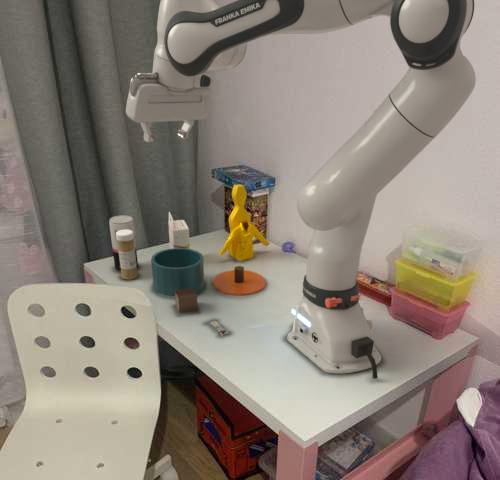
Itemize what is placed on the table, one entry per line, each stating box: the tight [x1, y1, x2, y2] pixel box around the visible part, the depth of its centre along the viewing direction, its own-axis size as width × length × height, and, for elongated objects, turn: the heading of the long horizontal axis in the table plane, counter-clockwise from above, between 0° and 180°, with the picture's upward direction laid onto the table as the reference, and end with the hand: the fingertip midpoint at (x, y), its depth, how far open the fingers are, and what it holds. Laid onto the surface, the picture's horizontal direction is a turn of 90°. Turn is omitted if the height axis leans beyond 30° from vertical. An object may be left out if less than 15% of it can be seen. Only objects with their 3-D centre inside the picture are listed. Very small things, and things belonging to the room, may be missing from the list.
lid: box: [212, 265, 266, 296], centre depth 134 cm, size 15×15×5 cm
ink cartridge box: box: [167, 211, 191, 249], centre depth 144 cm, size 9×5×15 cm, turn 17°
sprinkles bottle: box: [116, 229, 138, 281], centre depth 135 cm, size 5×5×14 cm
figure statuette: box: [218, 183, 271, 261], centre depth 146 cm, size 18×8×22 cm, turn 121°
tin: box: [150, 248, 205, 297], centre depth 131 cm, size 14×14×8 cm
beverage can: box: [108, 214, 139, 273], centre depth 139 cm, size 6×7×15 cm
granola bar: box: [210, 320, 230, 337], centre depth 115 cm, size 7×2×1 cm, turn 33°
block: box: [174, 288, 199, 314], centre depth 122 cm, size 5×5×5 cm
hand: (165, 139), depth 109 cm, fingers open, 8 cm apart
